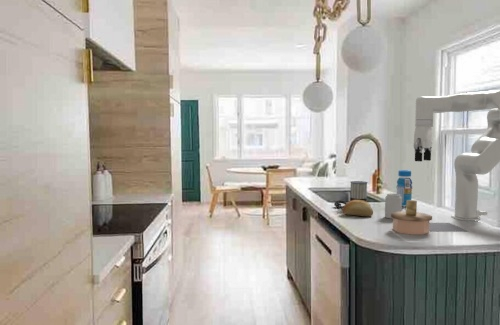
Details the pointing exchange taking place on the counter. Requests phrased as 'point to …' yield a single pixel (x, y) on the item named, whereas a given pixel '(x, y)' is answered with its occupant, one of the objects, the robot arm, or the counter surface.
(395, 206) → the can
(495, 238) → the counter surface
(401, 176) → the beverage bottle
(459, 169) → the robot arm
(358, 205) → the bread roll
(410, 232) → the bowl
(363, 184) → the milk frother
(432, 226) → the mat
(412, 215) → the lid
